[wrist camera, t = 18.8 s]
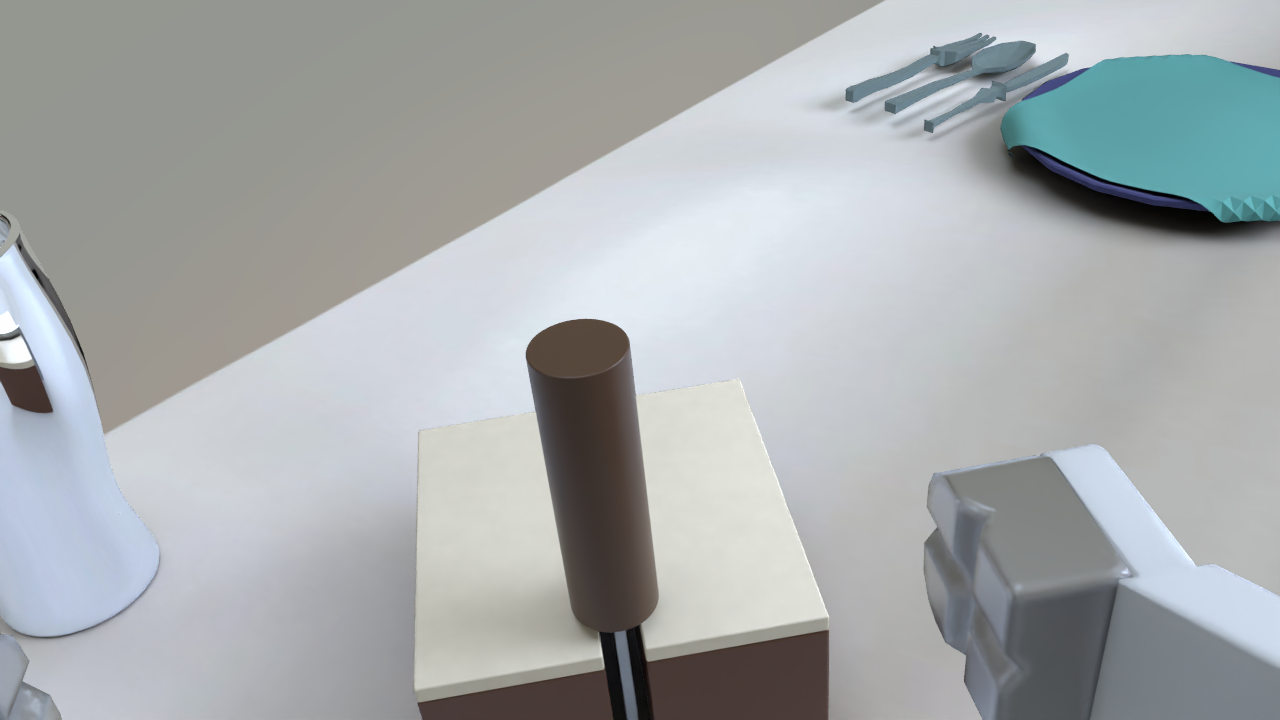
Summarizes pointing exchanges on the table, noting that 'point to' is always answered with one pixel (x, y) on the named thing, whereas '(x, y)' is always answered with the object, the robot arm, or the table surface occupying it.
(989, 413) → the table surface
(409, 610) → the table surface
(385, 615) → the table surface
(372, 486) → the table surface
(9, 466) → the beer glass
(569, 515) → the knife
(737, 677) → the cake
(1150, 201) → the cutlery set
